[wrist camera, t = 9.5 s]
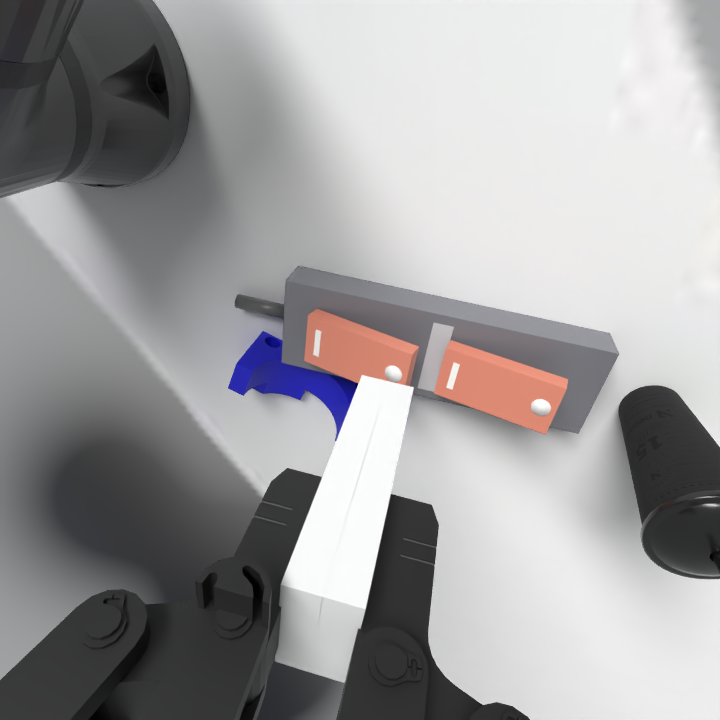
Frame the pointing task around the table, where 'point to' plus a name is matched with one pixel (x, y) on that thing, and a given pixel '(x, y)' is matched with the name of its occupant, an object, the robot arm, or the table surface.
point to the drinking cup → (674, 481)
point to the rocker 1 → (357, 350)
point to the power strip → (446, 334)
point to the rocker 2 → (500, 386)
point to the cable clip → (290, 378)
